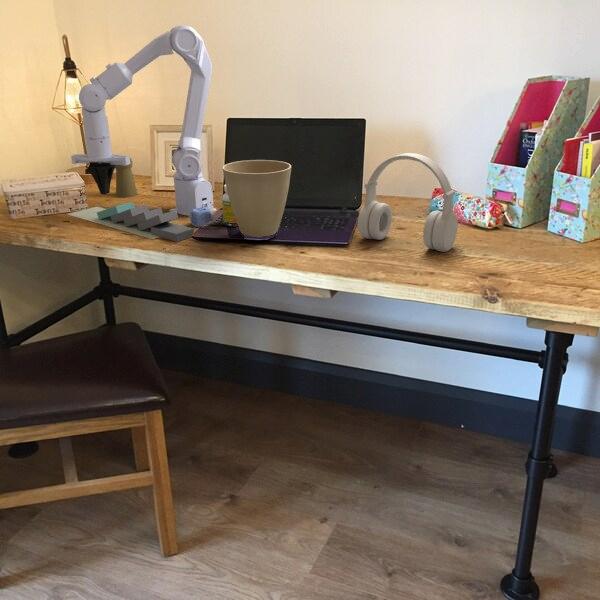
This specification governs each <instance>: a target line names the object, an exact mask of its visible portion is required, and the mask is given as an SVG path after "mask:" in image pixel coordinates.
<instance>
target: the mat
mask: <svg viewBox="0 0 600 600" xmlns="http://www.w3.org/2000/svg"><path fill="white" fill-rule="evenodd" d="M106 209H107V208H103V207H100V206H93V207H90V208H87V209H82V210H78V211H77V210H76V211H74V212H70V213H67V214H66V215H67V216H72V217H75V218H78V219H82V220H84V221H89V222H93V223H96V224H100V225H102V226H107V227H109V228H112V229H117V230H119V231H122V232H126V233H130V234H133V235H135V236H140V237H144V238H147V239H150V240H155V239H158V238H159V237H158V236H155V235H151V228H148V229H145V230H142V231H139V228H138V225H137V224H135V225H131V226H128V227H125V224H124V221H120V222H116V223H112V220H111V217H107V218H104V219H100V220H99V218H98V215H97V212H100V211H103V210H106Z"/></svg>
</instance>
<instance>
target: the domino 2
mask: <svg viewBox="0 0 600 600" xmlns="http://www.w3.org/2000/svg"><path fill="white" fill-rule="evenodd" d="M147 211H150V208H149V205H148V204H144V205H141V206H140V205H139V206H135V208H132V209H129V210H126V211H123V212H120V213H118V214H115V215H112V216H110V217H111V220H112V223H116V222H120V221H123V220H124V219H127V218H130V217H132V216H135V215H138V214H141V213H143V212H147Z"/></svg>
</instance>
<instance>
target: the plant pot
mask: <svg viewBox="0 0 600 600" xmlns="http://www.w3.org/2000/svg"><path fill="white" fill-rule="evenodd" d="M222 172H223V178H224V183H225V184H226V188H227V192H228V196H229V200H230V203H231V207H232V210H233V213H234V216H235V219H236V221H237V224H238V226H239V227H238V229H239V231H240V232H241V233H242V234H244V235H247V236H252V237H263V236H270V235H273V234H275V233H276V232H277V233H278V230H279V228H280V224H281V223H282V222H281V221H282V219H283V214H284V213H285V207H286V203H287V198H288V193H289V189H290V188H289V187H290V182H291V181H290V180H291V173H292V165H291V164H290V163H288V162H285V161H279V160H273V159H272V160H270V159H269V160H268V159H267V160H266V159H255V160H254V159H250V160H240V161H239V160H238V161H232V162H230V163H226V164H224V165H223V166H222ZM225 184H224V185H225ZM242 234H241V235H242Z"/></svg>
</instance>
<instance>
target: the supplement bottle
mask: <svg viewBox="0 0 600 600" xmlns="http://www.w3.org/2000/svg"><path fill="white" fill-rule="evenodd" d="M223 186H224V192H225V193H224V194H223V195H222V197H221V202H222V203H221V204H222V217H223V223H224V222H229V223H237V221H236V219H235V216H234V213H233V210H232V207H231V203H230V200H229V196H228V192H227V188H226V184H224V185H223Z"/></svg>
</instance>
